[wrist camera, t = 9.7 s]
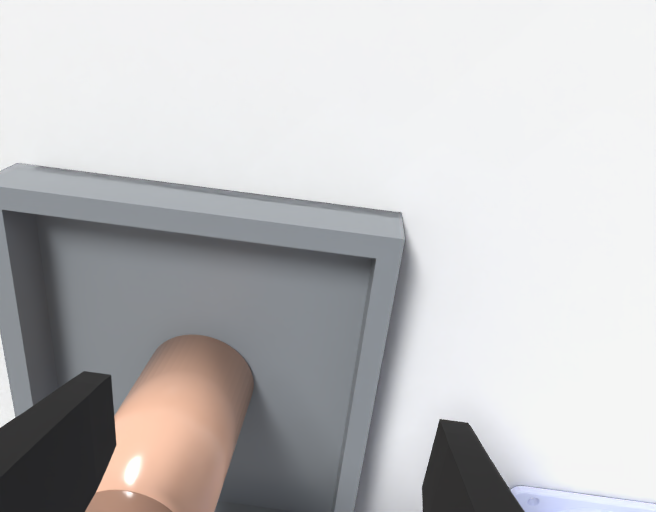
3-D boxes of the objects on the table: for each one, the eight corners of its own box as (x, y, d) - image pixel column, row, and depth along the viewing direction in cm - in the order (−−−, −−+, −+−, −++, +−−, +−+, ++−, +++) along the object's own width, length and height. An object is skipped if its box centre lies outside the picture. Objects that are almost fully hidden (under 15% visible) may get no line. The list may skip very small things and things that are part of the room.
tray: (401, 212, 19) (405, 239, 17) (345, 519, 26) (343, 565, 24) (17, 163, 20) (-27, 183, 18) (61, 480, 27) (34, 523, 24)
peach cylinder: (259, 345, 21) (207, 495, 15) (248, 427, 23) (198, 589, 17) (149, 325, 22) (53, 465, 15) (148, 408, 24) (62, 563, 17)
